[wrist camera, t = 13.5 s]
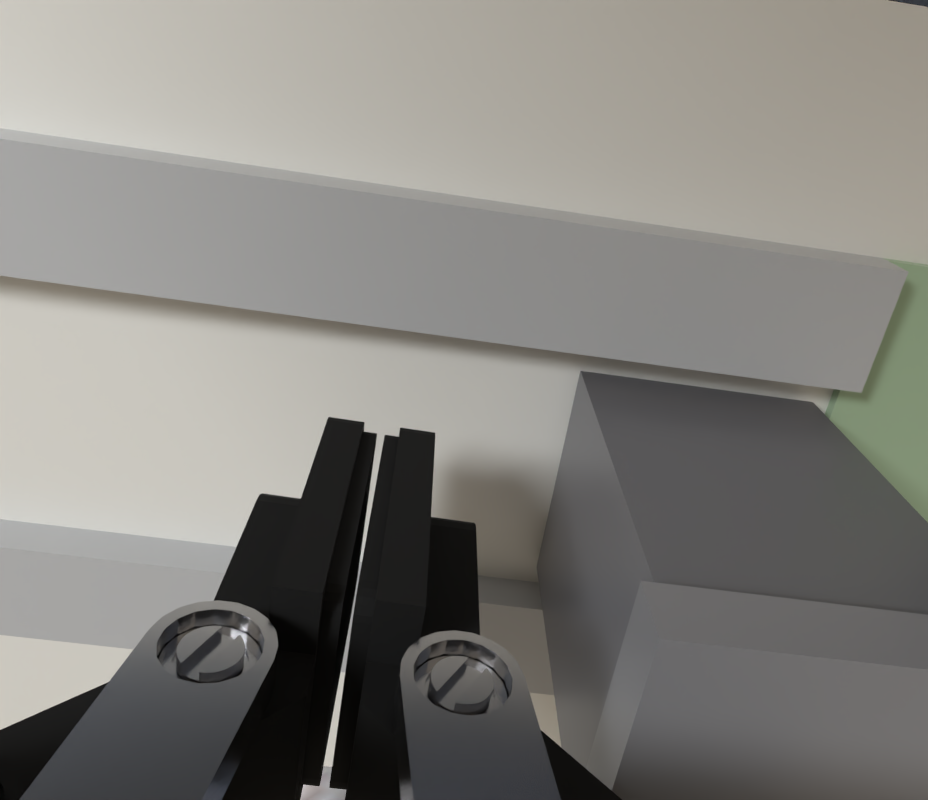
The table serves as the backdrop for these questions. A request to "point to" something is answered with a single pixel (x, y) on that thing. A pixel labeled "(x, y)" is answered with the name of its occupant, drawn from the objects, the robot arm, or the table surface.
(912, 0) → the table surface
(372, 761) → the robot arm
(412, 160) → the slider rail board
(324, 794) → the table surface
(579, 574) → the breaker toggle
